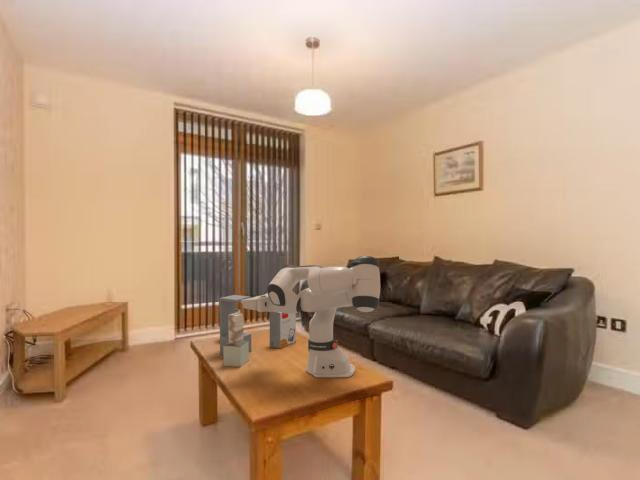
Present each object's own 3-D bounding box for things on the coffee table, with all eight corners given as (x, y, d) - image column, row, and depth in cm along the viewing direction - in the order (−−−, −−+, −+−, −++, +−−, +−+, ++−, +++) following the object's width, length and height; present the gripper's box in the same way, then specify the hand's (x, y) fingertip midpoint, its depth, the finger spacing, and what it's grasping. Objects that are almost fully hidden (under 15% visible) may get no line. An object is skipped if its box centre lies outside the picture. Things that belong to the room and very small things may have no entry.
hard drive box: (280, 349, 198) (279, 312, 197) (269, 346, 202) (268, 311, 201) (296, 341, 211) (295, 307, 210) (285, 339, 215) (285, 306, 214)
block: (243, 342, 178) (243, 313, 177) (236, 344, 173) (236, 316, 173) (235, 340, 180) (235, 312, 180) (228, 343, 176) (228, 314, 176)
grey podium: (251, 351, 194) (250, 296, 194) (237, 357, 184) (236, 299, 184) (234, 348, 200) (233, 294, 199) (220, 354, 190) (219, 298, 190)
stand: (248, 360, 180) (248, 340, 180) (241, 366, 171) (240, 346, 171) (232, 359, 182) (231, 339, 182) (223, 365, 173) (223, 345, 173)
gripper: (284, 291, 174) (262, 289, 181) (257, 298, 156) (233, 296, 163) (285, 304, 174) (262, 302, 181) (257, 312, 156) (233, 309, 163)
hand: (248, 299), depth 172 cm, fingers open, 8 cm apart
